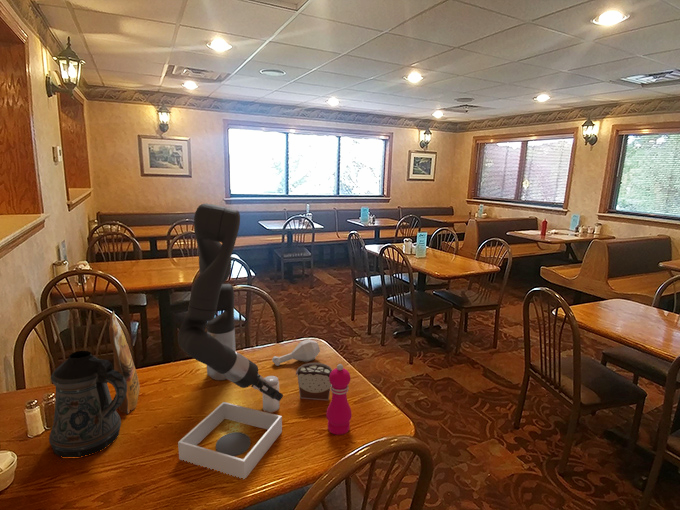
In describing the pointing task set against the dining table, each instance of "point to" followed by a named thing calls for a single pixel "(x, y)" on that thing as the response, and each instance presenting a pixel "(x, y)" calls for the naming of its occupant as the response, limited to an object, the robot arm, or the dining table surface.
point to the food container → (314, 381)
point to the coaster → (233, 443)
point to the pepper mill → (339, 402)
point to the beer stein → (85, 405)
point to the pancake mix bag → (124, 364)
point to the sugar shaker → (268, 402)
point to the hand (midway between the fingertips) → (273, 391)
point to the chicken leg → (300, 352)
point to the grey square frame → (224, 461)
